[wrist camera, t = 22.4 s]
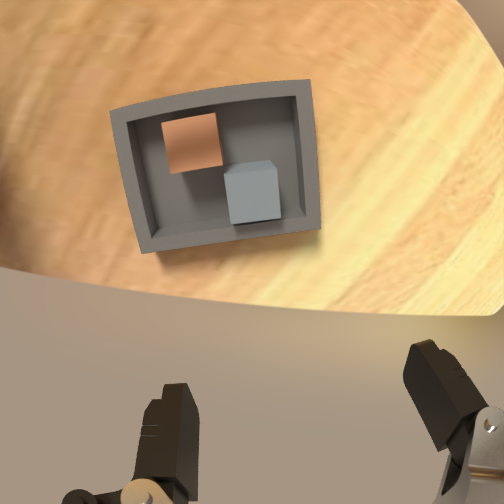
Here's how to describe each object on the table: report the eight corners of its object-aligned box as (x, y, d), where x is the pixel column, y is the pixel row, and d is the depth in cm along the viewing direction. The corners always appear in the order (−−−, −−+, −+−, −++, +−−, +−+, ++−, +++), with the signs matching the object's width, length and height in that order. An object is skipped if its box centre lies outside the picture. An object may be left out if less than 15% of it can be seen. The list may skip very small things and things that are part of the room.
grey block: (224, 165, 33) (223, 175, 29) (270, 160, 33) (277, 168, 29) (230, 208, 36) (230, 224, 31) (274, 203, 36) (281, 218, 31)
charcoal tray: (121, 110, 30) (109, 110, 27) (301, 82, 30) (310, 79, 27) (149, 239, 37) (141, 254, 34) (312, 216, 38) (321, 228, 34)
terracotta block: (170, 120, 31) (161, 122, 26) (216, 112, 31) (214, 112, 26) (178, 164, 33) (170, 174, 28) (223, 157, 33) (222, 165, 28)
